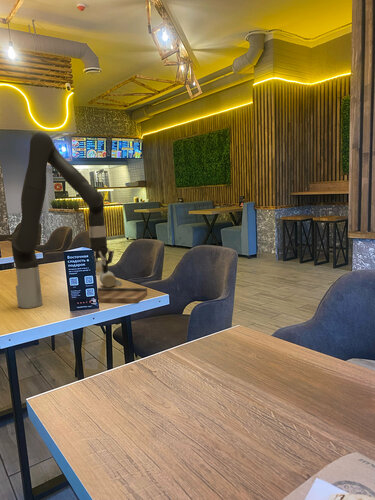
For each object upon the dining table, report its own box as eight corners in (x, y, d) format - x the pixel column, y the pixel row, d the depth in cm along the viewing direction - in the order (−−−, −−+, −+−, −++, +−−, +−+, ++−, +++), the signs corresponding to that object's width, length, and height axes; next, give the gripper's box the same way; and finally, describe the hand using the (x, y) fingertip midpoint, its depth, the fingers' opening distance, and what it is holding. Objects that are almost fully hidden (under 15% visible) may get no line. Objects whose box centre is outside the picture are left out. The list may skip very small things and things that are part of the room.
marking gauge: (89, 277, 170) (88, 264, 169) (99, 272, 180) (98, 260, 179) (98, 277, 169) (96, 264, 168) (107, 272, 179) (106, 259, 178)
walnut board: (85, 302, 170) (85, 295, 170) (99, 294, 184) (99, 287, 183) (137, 303, 165) (136, 296, 164) (147, 294, 178) (147, 288, 178)
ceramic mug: (102, 289, 194) (101, 274, 193) (100, 285, 202) (99, 271, 201) (123, 286, 198) (122, 272, 197) (120, 283, 206) (119, 269, 205)
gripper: (115, 234, 176) (118, 271, 179) (87, 235, 179) (90, 271, 182) (109, 236, 169) (112, 274, 171) (79, 237, 172) (83, 274, 175)
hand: (101, 272), depth 177 cm, fingers closed on marking gauge, 4 cm apart
